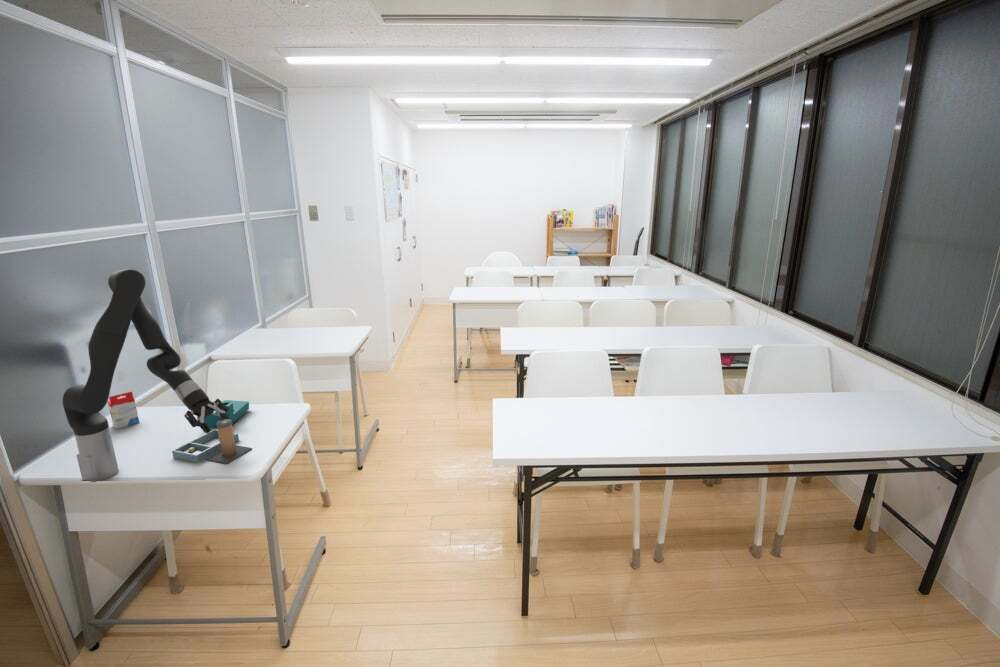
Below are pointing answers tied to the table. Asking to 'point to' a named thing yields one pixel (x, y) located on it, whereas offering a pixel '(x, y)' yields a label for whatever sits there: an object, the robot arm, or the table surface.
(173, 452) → the parts tub
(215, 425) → the teal notched block
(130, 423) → the ink box
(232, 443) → the brown canister
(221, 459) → the black mat
